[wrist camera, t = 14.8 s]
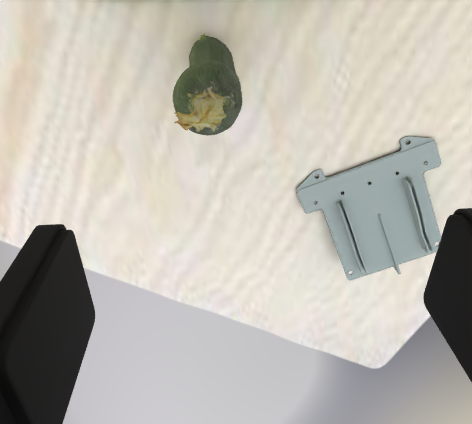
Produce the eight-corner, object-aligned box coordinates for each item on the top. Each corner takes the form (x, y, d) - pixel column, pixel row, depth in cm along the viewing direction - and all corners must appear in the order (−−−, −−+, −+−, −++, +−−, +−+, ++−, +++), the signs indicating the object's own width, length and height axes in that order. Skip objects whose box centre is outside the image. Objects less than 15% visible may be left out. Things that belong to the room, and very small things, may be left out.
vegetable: (242, 56, 37) (270, 134, 20) (210, 91, 39) (213, 192, 22) (205, 19, 36) (202, 73, 19) (173, 58, 37) (145, 140, 20)
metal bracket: (472, 256, 44) (336, 300, 46) (447, 238, 49) (328, 277, 51) (438, 129, 40) (293, 183, 42) (416, 124, 46) (289, 172, 48)
